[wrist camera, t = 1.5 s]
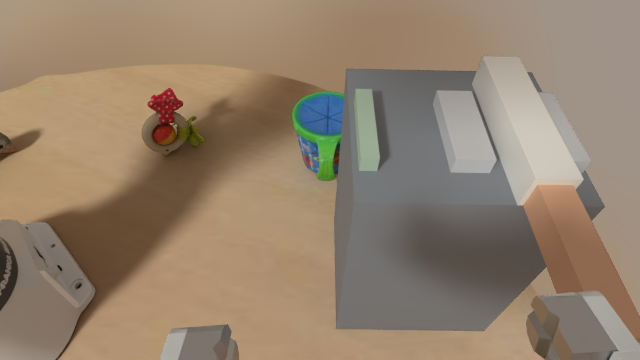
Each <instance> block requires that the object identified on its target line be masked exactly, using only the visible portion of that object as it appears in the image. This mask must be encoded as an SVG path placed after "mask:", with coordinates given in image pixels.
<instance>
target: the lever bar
mask: <svg viewBox="0 0 640 360" xmlns="http://www.w3.org/2000/svg"><path fill="white" fill-rule="evenodd" d="M472 86H473V88H474V91H475V94H476V96H477V99H478V102H479V104H480V107H481V110H482V112H483V115H484V118H485V120H486V123H487V126H488V128H489V131H490V134H491V136H492V139H493V142H494V144H495V147H496V150H497V152H498V155H499V158H500V160H501V163H502V166H503V168H504V171H505V174H506V176H507V179H508V182H509V184H510V187H511V190H512V192H513V195H514V198H515V200H516V203H517V205H523V207H524V209H525V212H526V215H527V217H528V220H529V222H530V225H531V228H532V230H533V233H534V235H535V238H536V241H537V243H538V246H539V248H540V251H541V253H542V256H543V259H544V261H545V264H546V266H547V269H548V271H549V274H550V277H551V279H552V282H553V284H554V287H555V290H556V292H557V294H561V293H570V292H575V293H576V292H585V291H598V292H600V293H601V294H603V296H604V297H605V298H606V300H607V301H608V303H609V304H610V305H611V307H612V308H613V309H614V311H615V312H616V313H617V315H618V316H619V317H620V319H621V320H622V321H623V323H624V324H625V326H626V327H627V328H628V330H629V331H630V332H631V334H632V335H633V336H634V338H635V339H636V340H637V342H638V343H640V316H639V315H638V312H637V311H636V309H635V307H634V305H633V303H632V301H631V299H630V297H629V295H628V293H627V291H626V289H625V287H624V285H623V283H622V281H621V279H620V277H619V275H618V273H617V271H616V269H615V267H614V265H613V263H612V261H611V259H610V257H609V255H608V253H607V251H606V249H605V247H604V245H603V243H602V241H601V239H600V237H599V235H598V233H597V231H596V229H595V228H594V225H593V223H592V221H591V219H590V217H589V215H588V213H587V211H586V209H585V207H584V205H583V203H582V201H581V199H580V197H579V195H578V193H577V191H576V189H577V187H578V186H579V185H580V184H581V183H582V181H583V180H584V179H583V177H582V175H581V173H580V171H579V169H578V167H577V166H576V164H575V162H574V160H573V158H572V156H571V154H570V152H569V151H568V149H567V147H566V145H565V143H564V141H563V139H562V137H561V135H560V134H559V132H558V130H557V128H556V126H555V124H554V122H553V120H552V119H551V117H550V115H549V113H548V111H547V109H546V107H545V105H544V103H543V102H542V100H541V98H540V96H539V94H538V92H537V90H536V88H535V87H534V85H533V83H532V81H531V79H530V77H529V75H528V73H527V72H526V70H525V68H524V66H523V64H522V62H521V60H520V59H519V57H502V56H482V59H481V61H480V64H479V67H478V69H477V72H476V74H475V77H474V80H473V82H472Z"/></svg>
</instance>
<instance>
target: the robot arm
mask: <svg viewBox="0 0 640 360" xmlns="http://www.w3.org/2000/svg"><path fill="white" fill-rule="evenodd" d="M80 285H82V286H81V287H80V288H79V289H77V288H78V286H80ZM94 295H95V288H94V286H93V285H92V283H91V282H90V281H89V279H88V278H87V276H86V275H85V274H84V272H83V271H82V269H81V268H80V266H79V265H78V264H77V262H76V261H75V259H74V258H73V257H72V255H71V254H70V252H69V251H68V249H67V248H66V247H65V245H64V244H63V242H62V241H61V240H60V238H59V237H58V235H57V234H56V233H55V231H54V230H53V228H52V227H51V226H50V225H48V224H47V223H45V222H33V223H27V224H20V223H19V222H18V221H15V220H9V219H7V220H0V360H55V359H56V358H57V357H58V356H59V355H60V353H61V352H62V351H63V349H64V348H65V346H66V345H67V343H68V341H69V340H70V338H71V336H72V333H73V331H74V328H75V326H76V323H77V320H78V318H79V316H80V314H81V313H82V311H83V310H84V309H85V308H86V307H87V305H88V304H89V303H90V301H91V300H92V299H93V297H94ZM531 305H532V307H533V309H534V311H533V312H532V313H530V314H529V315H528V318H527V322H526V326H527V334H528V337H529V340H530V343H531V345H532V347H533V349H534V351H535V352H536V353H537V354H539V355H540V356H541V357H542V358H544V359H545V360H640V344H639V343H638V342H637V340H636V339H635V338H634V336H633V335H632V334H631V332H630V331H629V330H628V328H627V327H626V326H625V324H624V323H623V321H622V320H621V319H620V317H619V316H618V315H617V313H616V312H615V311H614V309H613V308H612V307H611V305H610V304H609V303H608V301H607V300H606V298H605V297H604V296H603V294H601V293H600V292H598V291H585V292H576V293H575V292H570V293H561V294H551V295H542V296H536V297H535V298H533V300H532V304H531ZM230 336H231V330H230V328H229V326H228V324H227V325H214V326H201V327H186V328H175V329H172V330H171V331H170V333H169V334H168V336H167V339H166V342H165V345H164V348H163V351H162V354H161V357H160V360H239V352H238V346H237V344H236V341H235V340H233V339H231V338H230Z"/></svg>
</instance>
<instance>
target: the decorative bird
mask: <svg viewBox="0 0 640 360" xmlns="http://www.w3.org/2000/svg"><path fill="white" fill-rule="evenodd" d="M10 152H16V150H15V148H14V146H13V145H12V143H11V141H10V140H9V138H8V137H7V136H5V135H4V134H2V133H0V153H10Z"/></svg>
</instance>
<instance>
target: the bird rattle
mask: <svg viewBox="0 0 640 360" xmlns="http://www.w3.org/2000/svg"><path fill="white" fill-rule="evenodd" d="M148 106H149V107H150V108H151V109H153V110H154V111H156V113H155V114H153V115H152V116H150V117H149V118H148V119H147V120H146V122H145V123H144V125H143V128H142V138H143V140H144V142H145V144H146V145H147V146H148V147H149V148H150V149H152V150H154V151H156V152H160V153H162V154H163V155H164V156H168V155H169V153H170V152H172V151H174V150H176V149H178V148H179V147H180V146H181V145H182V144H183V143H184V142H185V141H186V140H187V139H188V138H189V141H190V143H191V145H193V146H198V145H199V143H200V142H202V143H204V142H205V141H206V140H205V138H203V137H202V136H201V135H199V134H198V132H197V129H196V127H195V126H194V125H191V121H194V120H196V119H197V118H196V116H192V117H191V118H190V119H188V120H187V121H186V120H185V118H184V117H182V116H181V115H180V114H178V113H176V112H174V111H175V110H177V109H179V108H180V107H182V106H183V102H182V101H180V100H178V99H177V98H176V96H175V94H174V92H173V90H172V89H170V88H168V89H167V90H165V91H164V92H163V93H162V94H160V95H153V96H152V97H151V101H149V102H148ZM169 123H174V124H173V125H175V124H177V135H176V132H175V129H174V128H173V127H172V126H173V125H172V126H171V125H170V124H169Z"/></svg>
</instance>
